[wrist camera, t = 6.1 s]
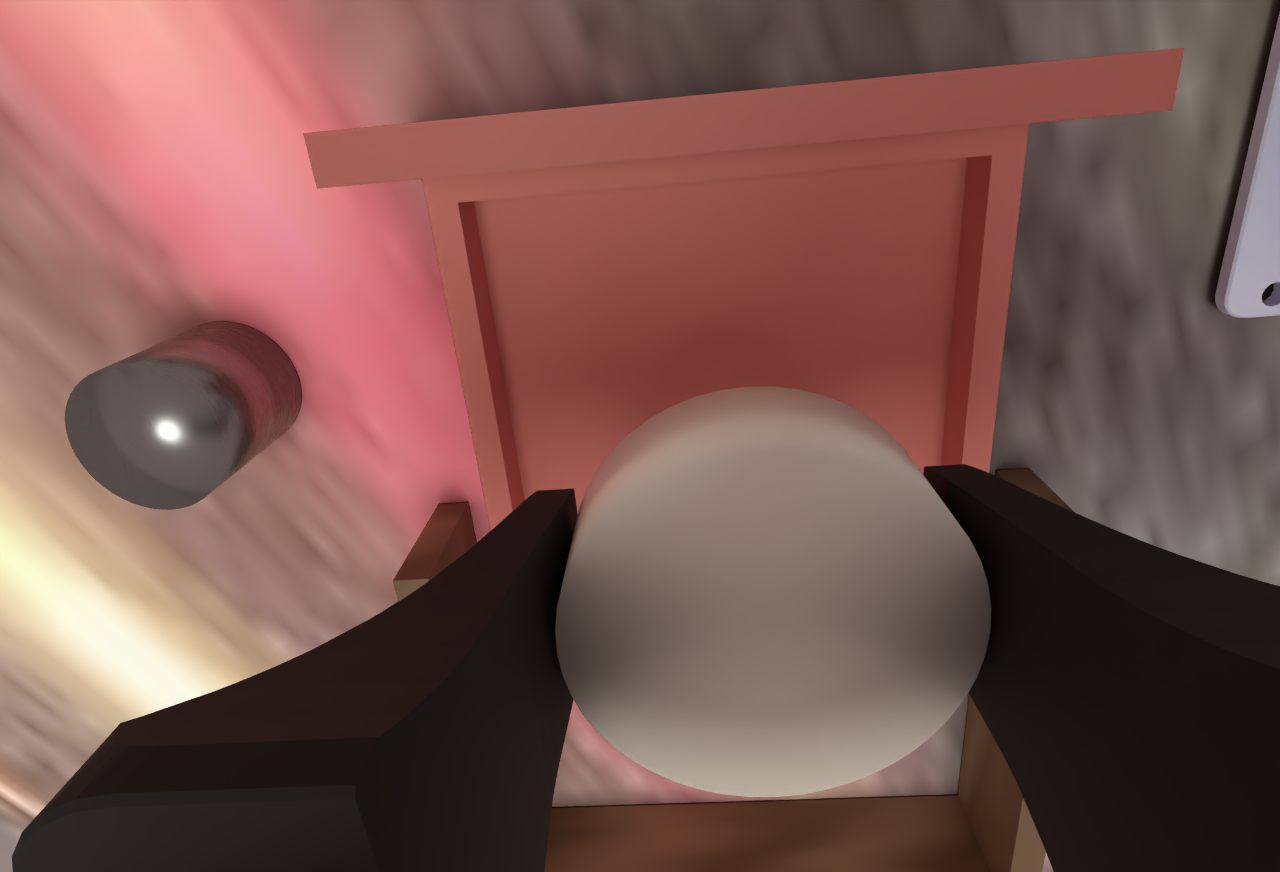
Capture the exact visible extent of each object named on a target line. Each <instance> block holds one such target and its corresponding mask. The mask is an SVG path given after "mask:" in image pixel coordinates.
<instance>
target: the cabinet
mask: <svg viewBox="0 0 1280 872" xmlns="http://www.w3.org/2000/svg"><path fill="white" fill-rule="evenodd" d="M996 476H997V477H999V478H1001V479H1003V480H1006V481H1008V482H1010V483H1012V484H1014V485H1016V486H1018V487H1020V488H1023V489H1025V490H1027V491H1029V492H1031V493H1033V494H1035V495H1037V496H1040V497H1042V498H1044V499H1046V500H1048V501H1050V502H1052V503H1055V504H1057V505H1059V506H1061V507H1063V508H1065V509H1068V510H1070V511H1072V512H1074V511H1073V510H1072V509H1071V508H1070V507H1069V506H1068V505H1066V504H1065V503H1064V502H1063V501H1062V500H1061V499H1060V498H1059V497H1058V496H1057V495H1056V494H1055V493H1054V492H1053V491H1052V490H1051V489H1050V488H1049V487H1048V486H1047V485H1046V484H1045V483H1044V482H1043V481H1042V480H1041V479H1040V478H1039V477H1037V476H1036V475H1035V474H1034V473H1033V472H1032V471H1031V470H1030V469H1029V468H1026V469H1010V470H996ZM1074 513H1075V512H1074ZM475 544H476V538H475V533H474V528H473V523H472V518H471V514H470V509H469V504H468V502H465V503H448V504H438V506H437V508H436V509H435V511H434V513H433V514H432V516H431V518H430V519H429V521H428V523H427V524H426V526H425V528H424V530H423V531H422V533H421V535H420V536H419V538H418V540H417V541H416V543H415V545H414V546H413V548H412V550H411V551H410V553H409V555H408V556H407V558H406V560H405V561H404V563H403V565H402V566H401V568H400V570H399V571H398V573H397V575H396V576H395V578H394V580H393V583H394V587H395V590H396V594H397V598H398V602H399V601H400V600H402V599H403V598H405V597H406V596H408V595H409V594H411V593H412V592H414V591H415V590H417V589H418V588H420V587H421V586H423V585H424V584H425V583H427V582H428V581H430V580H431V579H432V578H434V577H435V576H436V575H437V574H439V573H440V572H441V571H442V570H444V569H445V568H446V567H448V566H449V565H450V564H451V563H453V562H454V561H455V560H456V559H458V558H459V557H460V556H462V555H463V554H464V553H465V552H467V551H468V550H469V549H470V548H472V547H473V546H474V545H475ZM1045 853H1046V850H1045V848H1044V846H1043V843H1042V841H1041V839H1040V836H1039V834H1038V831H1037V829H1036V827H1035V824H1034V822H1033V820H1032V817H1031V815H1030V812H1029V810H1028V808H1027V805H1026V803H1025V801H1024V798H1023V796H1022V793H1021V791H1020V789H1019V786H1018V784H1017V782H1016V780H1015V778H1014V776H1013V774H1012V772H1011V770H1010V768H1009V766H1008V764H1007V762H1006V760H1005V758H1004V756H1003V754H1002V752H1001V750H1000V748H999V747H998V745H997V743H996V741H995V739H994V738H993V736H992V734H991V732H990V730H989V729H988V727H987V725H986V723H985V721H984V720H983V718H982V716H981V714H980V712H979V711H978V709H977V707H976V705H975V703H974V702H973V700H972V698H971V696H970V695H969V703H968V712H967V720H966V729H965V737H964V745H963V754H962V762H961V771H960V779H959V787H958V795H954V796H922V797H890V798H859V799H827V800H795V801H764V802H732V803H700V804H669V805H637V806H605V807H574V808H552V809H551V817H550V826H549V835H548V844H547V852H546V861H545V870H544V872H1042V869H1043V864H1044V858H1045Z"/></svg>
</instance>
